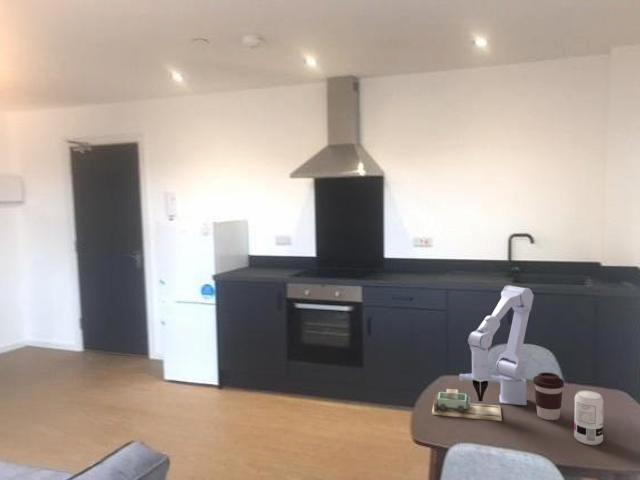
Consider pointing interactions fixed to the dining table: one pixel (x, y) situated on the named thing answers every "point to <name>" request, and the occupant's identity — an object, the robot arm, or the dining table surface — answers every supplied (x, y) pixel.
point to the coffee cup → (548, 395)
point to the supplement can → (588, 417)
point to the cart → (454, 402)
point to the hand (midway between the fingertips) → (480, 400)
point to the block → (452, 394)
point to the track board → (470, 411)
